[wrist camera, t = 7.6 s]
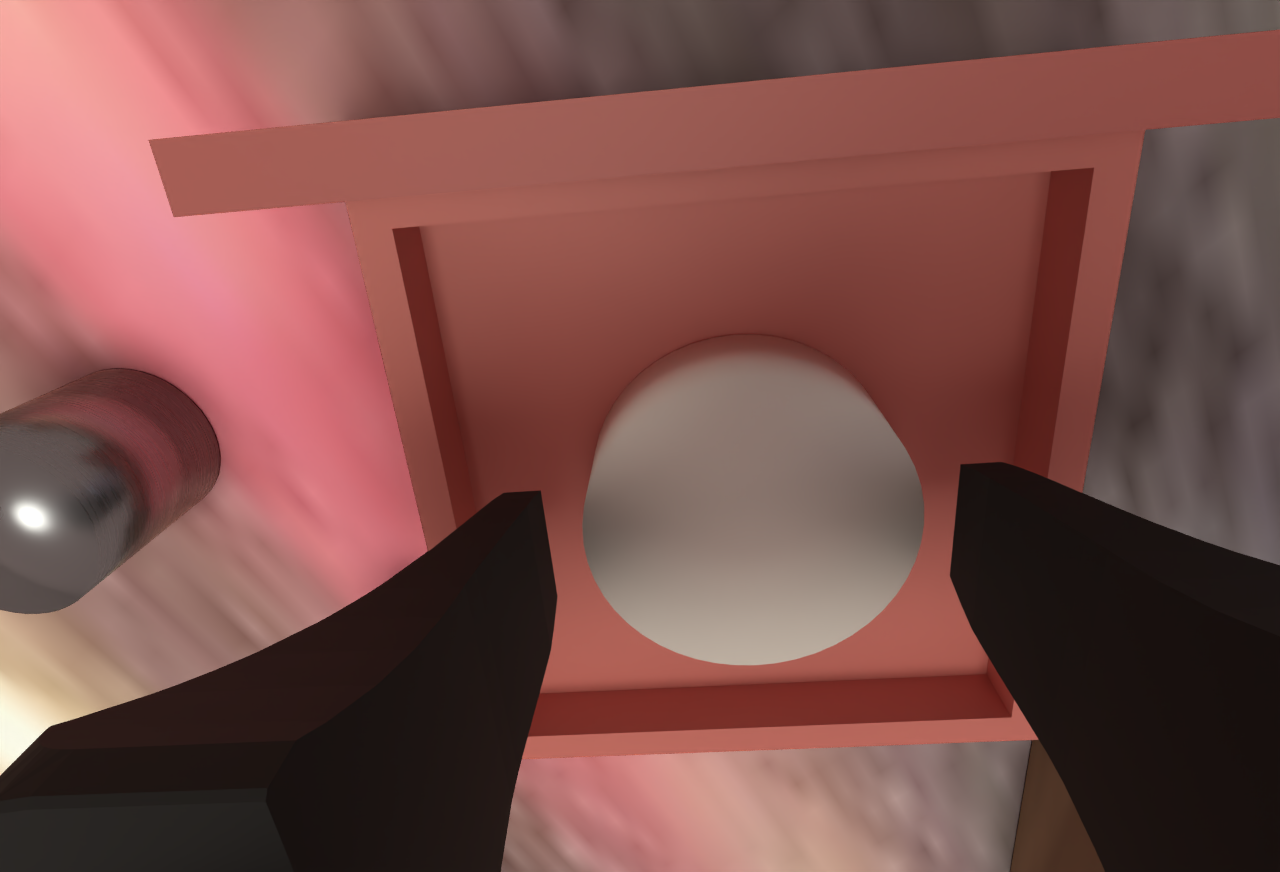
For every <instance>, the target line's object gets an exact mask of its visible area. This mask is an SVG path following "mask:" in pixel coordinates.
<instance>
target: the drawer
mask: <svg viewBox="0 0 1280 872" xmlns="http://www.w3.org/2000/svg"><path fill="white" fill-rule="evenodd" d="M1270 118H1280V30H1271V31H1261V32H1251V33H1240V34H1230V35H1220V36H1210V37H1199V38H1189V39H1179V40H1169V41H1158V42H1148V43H1138V44H1128V45H1117V46H1107V47H1097V48H1087V49H1076V50H1066V51H1056V52H1046V53H1035V54H1025V55H1015V56H1005V57H994V58H984V59H974V60H964V61H953V62H943V63H933V64H922V65H912V66H902V67H892V68H881V69H871V70H861V71H851V72H840V73H830V74H820V75H810V76H799V77H789V78H779V79H769V80H758V81H748V82H738V83H728V84H717V85H707V86H697V87H687V88H676V89H666V90H656V91H646V92H635V93H625V94H615V95H604V96H594V97H584V98H574V99H563V100H553V101H543V102H533V103H522V104H512V105H502V106H492V107H481V108H471V109H461V110H451V111H440V112H430V113H420V114H410V115H399V116H389V117H379V118H369V119H358V120H348V121H338V122H328V123H317V124H307V125H297V126H287V127H276V128H266V129H256V130H245V131H235V132H225V133H215V134H204V135H194V136H184V137H174V138H163V139H153V140H149V143H150V146H151V149H152V152H153V155H154V158H155V161H156V164H157V167H158V170H159V173H160V176H161V179H162V182H163V185H164V188H165V191H166V194H167V198H168V201H169V204H170V207H171V210H172V213H173V216H174V217H181V216H192V215H203V214H214V213H225V212H236V211H247V210H259V209H270V208H281V207H292V206H303V205H314V204H325V203H336V202H346V207H347V211H348V215H349V219H350V224H351V228H352V232H353V236H354V240H355V245H356V249H357V253H358V257H359V262H360V266H361V270H362V274H363V279H364V283H365V287H366V291H367V295H368V300H369V304H370V308H371V312H372V317H373V321H374V325H375V329H376V333H377V338H378V342H379V346H380V350H381V355H382V359H383V363H384V367H385V372H386V376H387V380H388V384H389V388H390V393H391V397H392V401H393V405H394V410H395V414H396V418H397V422H398V426H399V431H400V435H401V439H402V443H403V448H404V452H405V456H406V460H407V465H408V469H409V473H410V477H411V481H412V486H413V490H414V494H415V498H416V503H417V507H418V511H419V515H420V519H421V524H422V528H423V532H424V536H425V541H426V545H427V549H428V551H429V550H431V549H432V548H433V547H435V546H436V545H437V544H438V543H440V542H441V541H442V540H443V539H445V538H446V537H447V536H448V535H450V534H451V533H452V532H453V531H455V530H456V529H457V528H458V527H460V526H461V525H462V524H463V523H465V522H466V521H467V520H468V519H470V518H471V517H472V516H473V515H474V514H476V513H477V512H478V511H479V510H481V509H482V508H483V507H484V506H486V505H487V504H488V503H490V502H491V501H492V500H493V499H495V498H496V497H498V496H499V495H501V494H502V493H507V492H523V491H540V490H541V495H542V501H543V508H544V514H545V520H546V527H547V533H548V539H549V545H550V552H551V558H552V564H553V571H554V577H555V583H556V590H557V596H558V597H557V606H556V615H555V624H554V632H553V639H552V646H551V652H550V656H549V660H548V664H547V667H546V671H545V675H544V679H543V683H542V686H541V690H540V694H539V698H538V701H537V705H536V709H535V712H534V716H533V720H532V723H531V727H530V731H529V734H528V738H527V742H526V745H525V749H524V753H523V756H522V759H540V758H566V757H593V756H619V755H646V754H672V753H698V752H725V751H751V750H778V749H804V748H831V747H857V746H884V745H910V744H936V743H963V742H989V741H1016V740H1039V739H1038V738H1037V736H1036V734H1035V733H1034V731H1033V730H1032V728H1031V726H1030V725H1029V723H1028V721H1027V720H1026V718H1025V717H1024V715H1023V713H1022V712H1021V710H1020V708H1019V707H1018V705H1017V703H1016V702H1015V700H1014V699H1013V697H1012V695H1011V694H1010V692H1009V690H1008V689H1007V687H1006V686H1005V684H1004V682H1003V681H1002V679H1001V677H1000V676H999V674H998V673H997V671H996V669H995V668H994V666H993V664H992V663H991V661H990V659H989V658H988V656H987V654H986V653H985V651H984V649H983V648H982V646H981V644H980V642H979V641H978V639H977V637H976V636H975V634H974V632H973V630H972V628H971V626H970V624H969V622H968V619H967V617H966V615H965V612H964V610H963V608H962V606H961V603H960V601H959V598H958V596H957V593H956V591H955V588H954V586H953V583H952V581H951V578H950V567H951V557H952V547H953V536H954V526H955V516H956V505H957V495H958V485H959V474H960V464H974V463H990V462H1004V463H1007V464H1011V465H1014V466H1017V467H1020V468H1023V469H1026V470H1028V471H1031V472H1033V473H1036V474H1038V475H1041V476H1043V477H1046V478H1048V479H1051V480H1053V481H1055V482H1058V483H1060V484H1062V485H1065V486H1067V487H1069V488H1072V489H1074V490H1076V491H1079V492H1081V493H1082V492H1083V486H1084V480H1085V474H1086V468H1087V463H1088V457H1089V451H1090V445H1091V440H1092V434H1093V428H1094V422H1095V417H1096V411H1097V405H1098V399H1099V394H1100V388H1101V382H1102V376H1103V370H1104V365H1105V359H1106V353H1107V347H1108V342H1109V336H1110V330H1111V324H1112V319H1113V313H1114V307H1115V301H1116V295H1117V290H1118V284H1119V278H1120V272H1121V267H1122V261H1123V255H1124V249H1125V244H1126V238H1127V232H1128V226H1129V220H1130V215H1131V209H1132V203H1133V197H1134V192H1135V186H1136V180H1137V174H1138V169H1139V163H1140V157H1141V151H1142V146H1143V140H1144V134H1145V130H1147V129H1159V128H1170V127H1181V126H1192V125H1203V124H1214V123H1225V122H1236V121H1247V120H1259V119H1270ZM747 334H756V335H765V336H774V337H779V338H783V339H787V340H792V341H796V342H798V343H801V344H803V345H806V346H809V347H811V348H814V349H816V350H818V351H819V352H821V353H823V354H825V355H827V356H828V357H830V358H832V359H833V360H835V361H836V362H837V363H839V364H840V365H841V366H843V367H844V368H845V369H847V370H848V371H849V372H850V373H851V374H852V375H853V376H854V377H855V378H856V379H857V380H858V381H859V382H860V383H861V385H862V386H863V387H864V389H865V390H866V391H867V393H868V394H869V396H870V397H871V398H872V400H873V401H874V403H875V404H876V406H877V407H878V409H879V410H880V411H881V413H882V414H883V416H884V417H885V419H886V420H887V422H888V423H889V425H890V426H891V428H892V429H893V431H894V432H895V434H896V435H897V437H898V438H899V439H900V441H901V442H902V444H903V445H904V447H905V448H906V450H907V452H908V454H909V456H910V458H911V460H912V462H913V464H914V466H915V468H916V471H917V474H918V477H919V481H920V484H921V488H922V494H923V501H924V528H923V534H922V540H921V545H920V548H919V551H918V554H917V558H916V561H915V563H914V565H913V567H912V569H911V571H910V573H909V575H908V578H907V579H906V581H905V582H904V584H903V585H902V587H901V589H900V590H899V592H898V593H897V595H896V596H895V597H894V598H893V599H892V601H891V602H890V603H889V604H888V605H887V606H886V607H885V609H884V610H883V611H882V612H881V613H879V614H878V615H877V616H876V617H875V618H874V619H873V620H872V621H871V622H870V623H868V624H867V625H866V626H864V627H863V628H861V629H860V630H859V631H857V632H856V633H854V634H853V635H852V636H850V637H848V638H846V639H844V640H843V641H841V642H839V643H837V644H836V645H834V646H831V647H829V648H827V649H824V650H822V651H820V652H817V653H815V654H811V655H808V656H805V657H802V658H798V659H795V660H790V661H785V662H780V663H774V664H764V665H728V664H719V663H712V662H708V661H703V660H698V659H694V658H691V657H688V656H685V655H682V654H679V653H676V652H674V651H672V650H669V649H667V648H665V647H663V646H661V645H659V644H657V643H655V642H654V641H652V640H650V639H649V638H647V637H645V636H644V635H642V634H641V633H640V632H638V631H637V630H636V629H634V628H633V627H632V626H630V625H629V624H628V623H627V622H626V621H625V620H624V619H623V618H622V617H621V616H620V615H619V614H618V613H617V612H616V611H615V610H614V609H613V607H612V606H611V605H610V604H609V602H608V601H607V600H606V598H605V597H604V596H603V594H602V592H601V590H600V589H599V587H598V585H597V583H596V582H595V580H594V577H593V575H592V572H591V570H590V567H589V565H588V562H587V557H586V553H585V549H584V543H583V529H582V523H583V511H584V504H585V499H586V494H587V489H588V484H589V479H590V474H591V470H592V465H593V460H594V455H595V450H596V446H597V442H598V438H599V434H600V431H601V429H602V426H603V424H604V421H605V419H606V417H607V415H608V413H609V411H610V410H611V408H612V406H613V404H614V403H615V401H616V400H617V399H618V397H619V396H620V395H621V393H622V392H623V391H624V389H625V388H626V387H627V386H628V385H629V384H630V383H631V382H632V381H633V380H634V379H635V378H636V377H637V376H638V375H639V374H640V373H641V372H643V371H644V370H645V369H647V368H648V367H649V366H651V365H652V364H653V363H654V362H656V361H657V360H659V359H661V358H663V357H664V356H666V355H668V354H670V353H671V352H673V351H675V350H678V349H680V348H683V347H685V346H687V345H690V344H692V343H696V342H699V341H703V340H707V339H710V338H715V337H722V336H729V335H747Z"/></svg>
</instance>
